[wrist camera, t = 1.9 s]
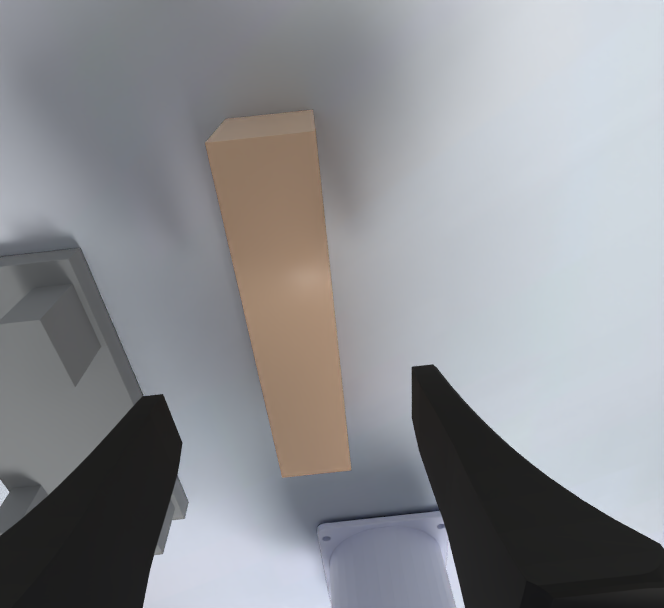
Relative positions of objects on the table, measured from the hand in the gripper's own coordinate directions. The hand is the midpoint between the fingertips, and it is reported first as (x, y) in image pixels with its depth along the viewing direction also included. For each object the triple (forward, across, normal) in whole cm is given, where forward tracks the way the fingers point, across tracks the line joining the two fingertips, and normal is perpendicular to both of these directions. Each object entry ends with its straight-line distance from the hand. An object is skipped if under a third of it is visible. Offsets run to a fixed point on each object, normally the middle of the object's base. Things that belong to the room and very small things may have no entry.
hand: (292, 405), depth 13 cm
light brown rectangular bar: (+7, 0, 0) cm, 7 cm away
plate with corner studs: (+7, +12, +5) cm, 15 cm away
